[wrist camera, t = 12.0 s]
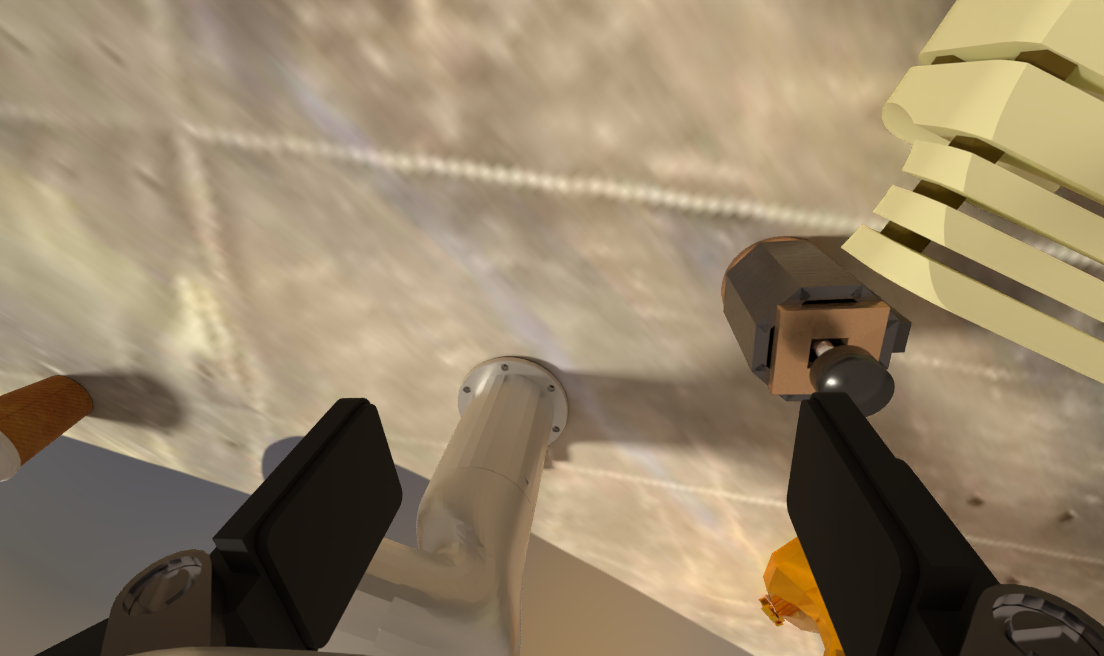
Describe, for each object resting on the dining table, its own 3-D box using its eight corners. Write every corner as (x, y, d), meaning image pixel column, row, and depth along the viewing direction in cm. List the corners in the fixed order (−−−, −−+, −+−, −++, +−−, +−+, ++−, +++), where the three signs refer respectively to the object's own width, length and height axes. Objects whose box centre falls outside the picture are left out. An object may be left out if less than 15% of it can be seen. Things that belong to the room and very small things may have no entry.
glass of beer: (71, 430, 67) (-34, 495, 56) (19, 373, 63) (-103, 431, 52) (119, 416, 64) (20, 481, 54) (68, 356, 61) (-49, 413, 50)
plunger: (816, 327, 44) (904, 434, 30) (742, 330, 45) (796, 434, 31) (826, 260, 41) (928, 344, 28) (747, 264, 42) (809, 347, 29)
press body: (836, 329, 47) (908, 409, 35) (718, 333, 48) (750, 410, 37) (853, 232, 42) (940, 285, 31) (724, 240, 44) (761, 293, 33)
